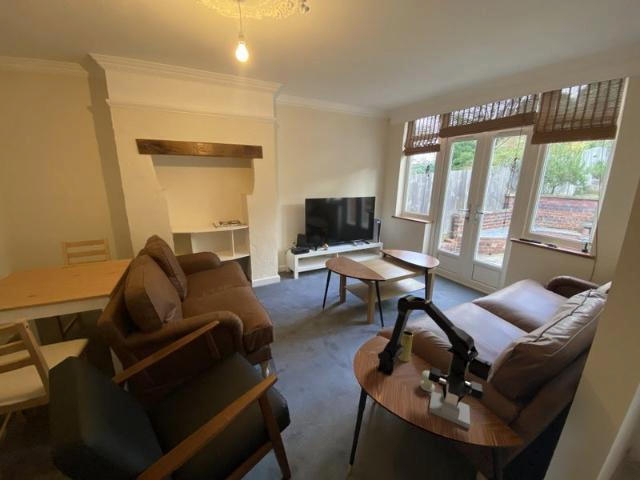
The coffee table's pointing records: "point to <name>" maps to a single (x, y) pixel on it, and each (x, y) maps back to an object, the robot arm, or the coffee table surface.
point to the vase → (406, 346)
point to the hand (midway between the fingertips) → (450, 400)
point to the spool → (427, 382)
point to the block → (451, 398)
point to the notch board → (462, 413)
